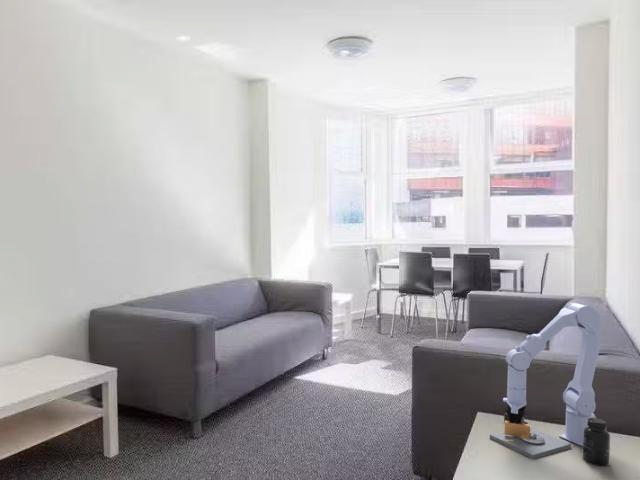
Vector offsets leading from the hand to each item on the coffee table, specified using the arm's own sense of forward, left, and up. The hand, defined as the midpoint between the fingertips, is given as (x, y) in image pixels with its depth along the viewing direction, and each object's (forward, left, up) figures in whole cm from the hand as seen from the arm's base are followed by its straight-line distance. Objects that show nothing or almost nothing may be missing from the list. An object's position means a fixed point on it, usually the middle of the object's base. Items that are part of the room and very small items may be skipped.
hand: (515, 428), depth 156 cm
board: (0, +5, -3) cm, 6 cm away
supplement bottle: (-7, +22, -3) cm, 24 cm away
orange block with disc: (+2, +5, -1) cm, 5 cm away
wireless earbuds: (-9, -7, -3) cm, 12 cm away
